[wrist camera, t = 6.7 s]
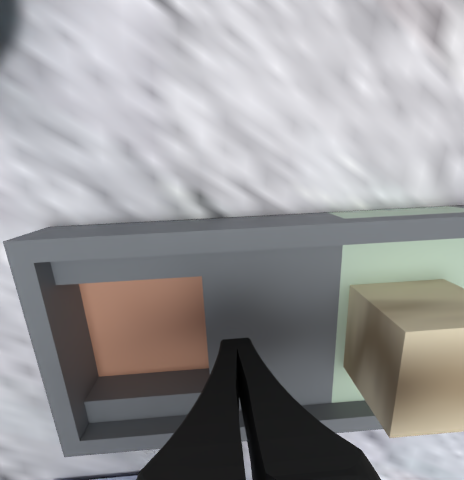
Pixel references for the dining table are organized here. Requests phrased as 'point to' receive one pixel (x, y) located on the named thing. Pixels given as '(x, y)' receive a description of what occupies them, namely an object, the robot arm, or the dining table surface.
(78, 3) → the dining table surface
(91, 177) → the dining table surface
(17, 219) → the dining table surface
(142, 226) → the box
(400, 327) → the maple block
